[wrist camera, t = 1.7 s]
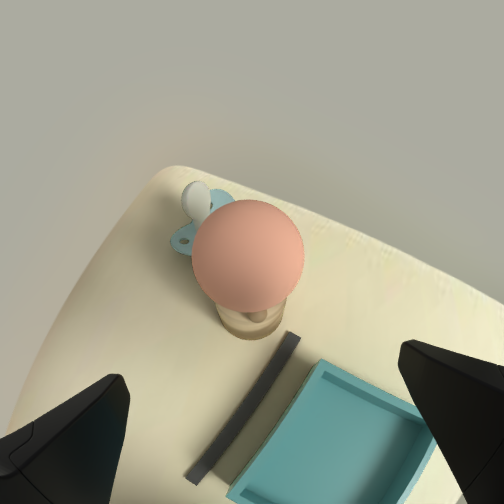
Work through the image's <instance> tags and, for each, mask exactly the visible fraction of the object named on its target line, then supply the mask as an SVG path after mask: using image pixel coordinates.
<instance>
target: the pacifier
mask: <svg viewBox="0 0 504 504" xmlns="http://www.w3.org/2000/svg"><path fill="white" fill-rule="evenodd" d="M181 201H182V207H183V209H184V211H185V213H186V214H187V215H188V216H189V217H190V218H192V222H191V223H190V224H189V225H186V226H184V227H182V228H181V229H179V230H178V231H176V232H175V233H174V234H173V235H172V237H171V240H170V243H171V245H172V247H173V249H174V250H176V251H177V252H179V253H181V254H184V255H188V256H192V246H193V242H194V238H195V235H196V233H197V231H198V229H199V228H200V226H201V224H202V223H203V221H204V220H205V219H206V218H207V217H208V216H209V215H210V214H211V213H212V212H214V211H215V210H216V209H218V208H219V207H221V206H223V205H225V204H228V203H231V202H234V201H235V200H234V199H233V198H232V196H231V195H230V194H229V193H227V192H226V191H224V190H221V189H212V190H209V188H208V186H207V185H206V184H205V183H204V182H202V181H194V182H192V183H190V184H188V185H187V186H186V188H185V189H184V191H183V193H182V199H181ZM211 204H212V205H213V207H212V209H210V205H211ZM182 240H188V241H189V243H188V244H181V243H180V241H182Z"/></svg>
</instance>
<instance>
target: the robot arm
mask: <svg viewBox="0 0 504 504" xmlns="http://www.w3.org/2000/svg"><path fill="white" fill-rule="evenodd" d="M398 368H399V371H400V373H401V375H402V377H403V379H404V382H405V384H406V386H407V388H408V391H409V393H410V395H411V397H412V399H413V402H414V403H415V405H416V407H417V409H418V411H419V412H420V414H421V416H422V418H423V419H424V421H425V423H426V425H427V426H428V428H429V430H430V432H431V433H432V435H433V437H434V439H435V441H436V443H437V444H438V446H439V448H440V450H441V452H442V454H443V456H444V457H445V459H446V461H447V463H448V465H449V467H450V469H451V471H452V473H453V475H454V477H455V479H456V481H457V483H458V485H459V487H460V489H461V491H462V493H463V495H464V497H465V500H466V502H467V504H504V366H501V365H497V364H494V363H490V362H487V361H483V360H480V359H476V358H473V357H469V356H466V355H463V354H459V353H456V352H453V351H449V350H446V349H443V348H440V347H436V346H433V345H430V344H427V343H424V342H420V341H417V340H414V339H412V340H408V341H405V342H403V343H402V345H401V349H400V354H399V359H398ZM129 405H130V393H129V391H128V388H127V386H126V383H125V381H124V378H123V376H122V375H120V374H108V375H107V376H105V377H103V378H102V379H100V380H99V381H97V382H96V383H94V384H92V385H91V386H89V387H88V388H86V389H84V390H83V391H81V392H80V393H78V394H76V395H75V396H73V397H72V398H70V399H68V400H67V401H65V402H64V403H62V404H60V405H59V406H57V407H55V408H54V409H52V410H50V411H49V412H47V413H46V414H44V415H42V416H41V417H39V418H37V419H36V420H34V422H33V421H32V422H31V423H29V424H27V425H26V426H24V427H22V428H20V429H18V430H17V431H15V432H13V433H11V434H9V435H7V436H5V437H3V438H1V439H0V504H109V502H110V497H111V492H112V488H113V483H114V479H115V474H116V470H117V466H118V462H119V458H120V454H121V450H122V446H123V442H124V438H125V432H126V425H127V418H128V411H129Z"/></svg>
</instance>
